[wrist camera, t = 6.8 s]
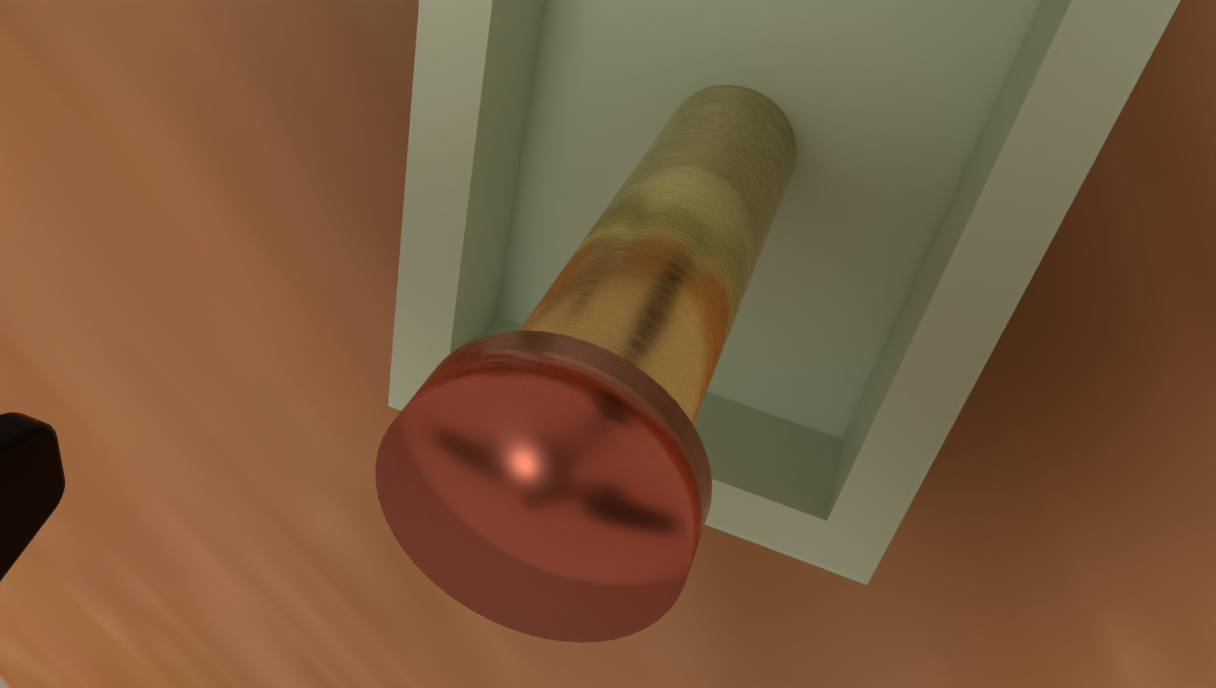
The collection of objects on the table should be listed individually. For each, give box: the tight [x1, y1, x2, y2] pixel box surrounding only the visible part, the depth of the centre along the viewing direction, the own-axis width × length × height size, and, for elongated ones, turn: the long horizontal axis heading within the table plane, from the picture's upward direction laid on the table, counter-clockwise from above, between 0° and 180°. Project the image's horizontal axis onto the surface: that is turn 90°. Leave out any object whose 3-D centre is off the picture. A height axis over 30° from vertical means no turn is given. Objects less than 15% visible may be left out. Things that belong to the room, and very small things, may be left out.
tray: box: [388, 0, 1181, 585], centre depth 17 cm, size 10×13×3 cm
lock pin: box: [376, 85, 796, 642], centre depth 14 cm, size 3×3×10 cm
